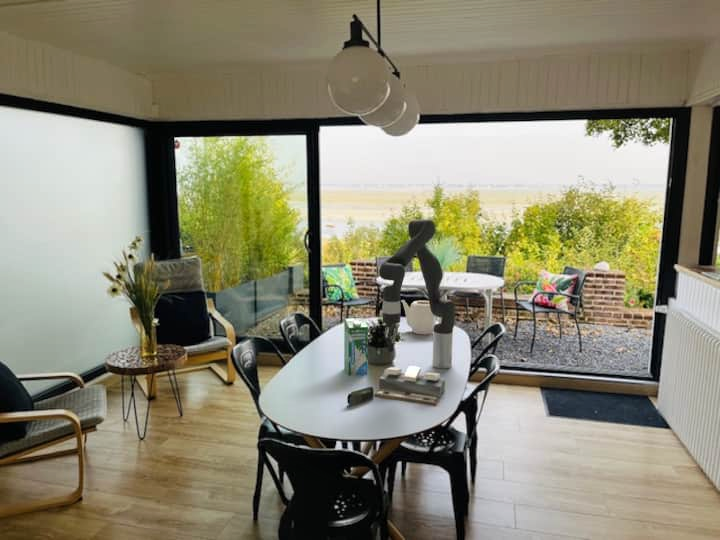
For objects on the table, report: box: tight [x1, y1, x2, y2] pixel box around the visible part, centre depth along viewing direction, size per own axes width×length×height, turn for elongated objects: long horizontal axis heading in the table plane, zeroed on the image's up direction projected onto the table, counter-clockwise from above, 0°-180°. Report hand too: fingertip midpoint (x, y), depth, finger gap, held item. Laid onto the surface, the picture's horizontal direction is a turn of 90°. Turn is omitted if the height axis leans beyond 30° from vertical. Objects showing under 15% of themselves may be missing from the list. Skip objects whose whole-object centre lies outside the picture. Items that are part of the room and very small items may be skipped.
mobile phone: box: [346, 386, 375, 408], centre depth 206 cm, size 5×3×15 cm
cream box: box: [423, 371, 441, 381], centre depth 214 cm, size 9×5×3 cm, turn 159°
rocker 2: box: [404, 365, 422, 381], centre depth 217 cm, size 9×5×3 cm, turn 159°
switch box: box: [374, 372, 446, 406], centre depth 215 cm, size 16×26×6 cm, turn 69°
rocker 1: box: [383, 366, 403, 375], centre depth 220 cm, size 9×5×3 cm, turn 159°
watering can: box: [400, 299, 442, 336], centre depth 309 cm, size 16×27×19 cm, turn 62°
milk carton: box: [343, 317, 369, 377], centre depth 239 cm, size 9×9×25 cm
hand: (390, 351), depth 215 cm, fingers closed
